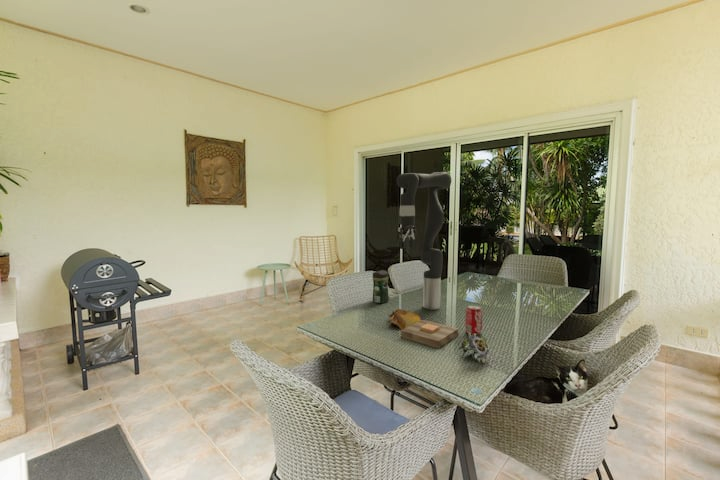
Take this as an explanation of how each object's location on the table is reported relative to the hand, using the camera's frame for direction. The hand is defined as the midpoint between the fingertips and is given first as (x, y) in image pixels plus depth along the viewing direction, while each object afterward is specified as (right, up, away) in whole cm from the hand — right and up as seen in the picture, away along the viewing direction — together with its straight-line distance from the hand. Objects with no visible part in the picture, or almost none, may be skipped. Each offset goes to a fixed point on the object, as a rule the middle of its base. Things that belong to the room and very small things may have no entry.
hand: (406, 248), depth 167 cm
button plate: (+7, -38, -18) cm, 43 cm away
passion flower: (+19, -41, -40) cm, 60 cm away
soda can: (+28, -38, -15) cm, 49 cm away
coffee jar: (-11, -33, +35) cm, 49 cm away
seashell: (-2, -37, -3) cm, 37 cm away
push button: (+7, -37, -18) cm, 42 cm away
